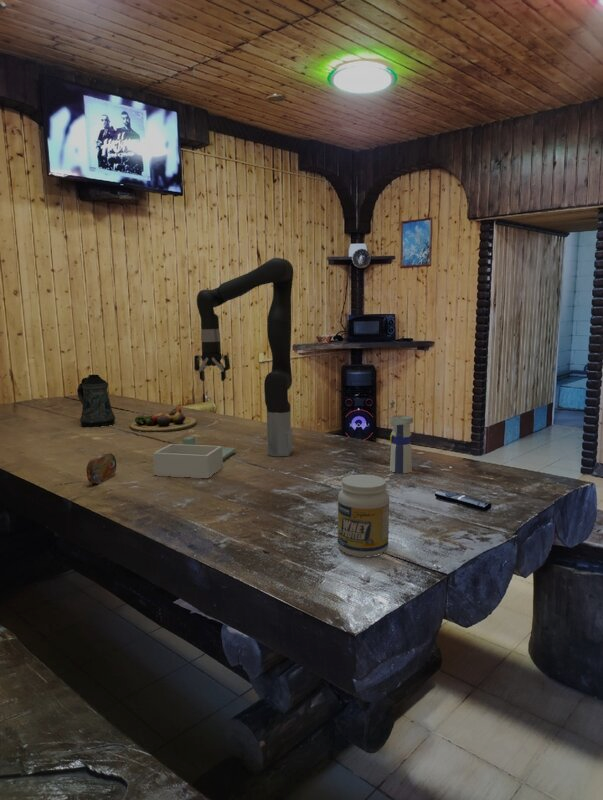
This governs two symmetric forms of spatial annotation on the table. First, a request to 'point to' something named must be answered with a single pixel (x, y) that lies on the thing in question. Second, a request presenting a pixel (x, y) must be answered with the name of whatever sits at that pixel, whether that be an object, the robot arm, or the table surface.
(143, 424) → the wooden plate with food
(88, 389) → the beer stein
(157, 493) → the table surface
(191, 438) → the lid
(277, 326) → the robot arm
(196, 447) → the parts tub
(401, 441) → the water bottle
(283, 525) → the table surface
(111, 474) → the tin
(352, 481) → the supplement tub
